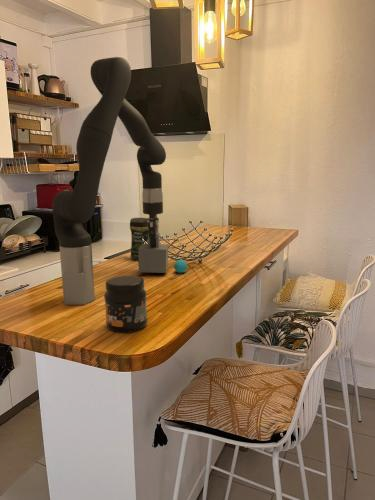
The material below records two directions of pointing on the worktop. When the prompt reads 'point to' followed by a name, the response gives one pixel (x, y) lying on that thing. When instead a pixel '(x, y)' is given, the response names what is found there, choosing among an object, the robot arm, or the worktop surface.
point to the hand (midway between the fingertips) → (153, 245)
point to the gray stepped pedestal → (153, 257)
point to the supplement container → (125, 303)
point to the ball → (180, 266)
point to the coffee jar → (138, 235)
